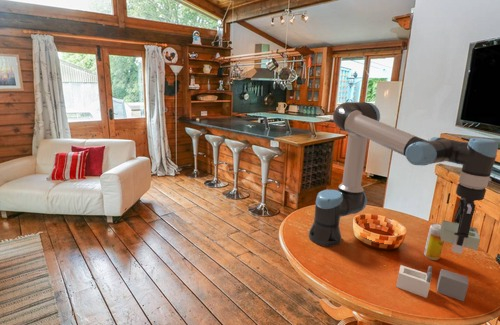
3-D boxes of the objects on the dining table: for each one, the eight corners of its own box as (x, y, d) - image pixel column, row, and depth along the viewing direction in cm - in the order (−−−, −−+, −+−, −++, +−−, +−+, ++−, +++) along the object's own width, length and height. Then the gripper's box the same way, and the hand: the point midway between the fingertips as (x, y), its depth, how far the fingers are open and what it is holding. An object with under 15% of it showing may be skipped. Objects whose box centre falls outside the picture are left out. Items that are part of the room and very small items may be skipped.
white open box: (395, 286, 107) (400, 264, 104) (397, 278, 111) (402, 256, 109) (426, 298, 101) (432, 275, 99) (427, 288, 106) (432, 266, 104)
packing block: (437, 292, 105) (441, 275, 103) (437, 284, 109) (441, 268, 107) (463, 301, 100) (468, 284, 99) (462, 293, 105) (467, 276, 103)
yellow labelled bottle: (441, 261, 123) (449, 230, 119) (426, 259, 124) (433, 228, 120) (436, 254, 129) (443, 223, 125) (421, 252, 130) (428, 222, 126)
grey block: (440, 240, 98) (443, 230, 97) (440, 229, 105) (442, 220, 104) (477, 250, 93) (480, 239, 92) (473, 238, 100) (476, 228, 99)
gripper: (492, 198, 83) (472, 265, 89) (481, 179, 101) (465, 236, 107) (460, 192, 87) (443, 257, 93) (456, 174, 105) (442, 230, 111)
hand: (455, 245), depth 100 cm, fingers closed on grey block, 9 cm apart
